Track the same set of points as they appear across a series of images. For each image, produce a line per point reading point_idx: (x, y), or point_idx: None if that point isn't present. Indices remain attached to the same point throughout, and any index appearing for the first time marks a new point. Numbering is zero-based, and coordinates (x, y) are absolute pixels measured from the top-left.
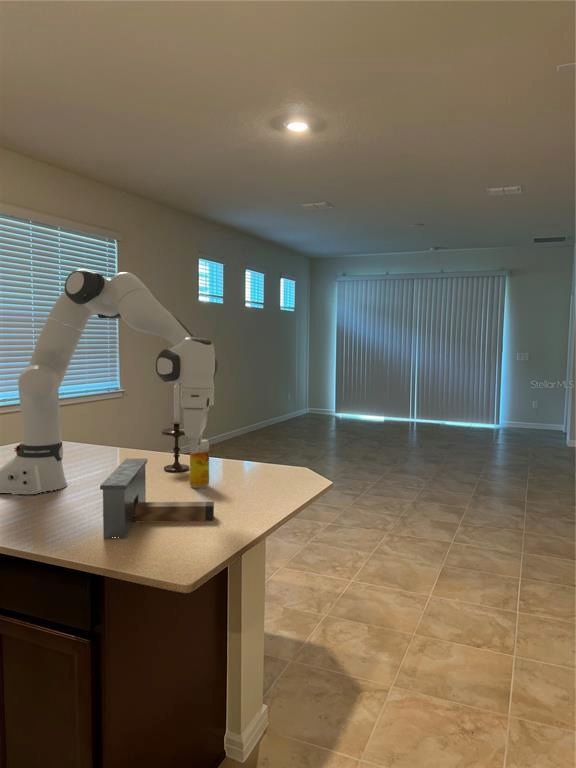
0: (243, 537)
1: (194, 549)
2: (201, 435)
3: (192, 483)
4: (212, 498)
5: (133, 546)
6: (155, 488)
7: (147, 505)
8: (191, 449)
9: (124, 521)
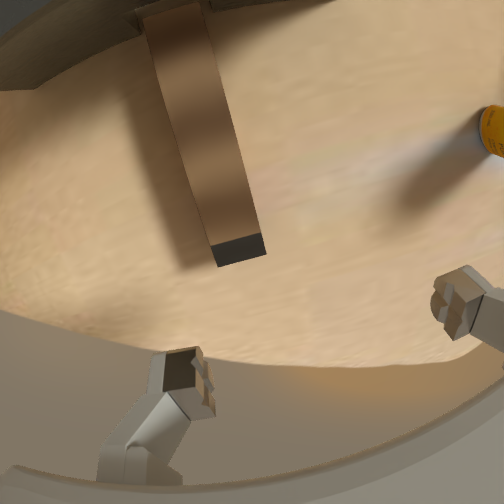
0: (135, 334)
1: (41, 268)
2: (496, 347)
3: (488, 113)
4: (412, 183)
5: (5, 140)
6: (462, 17)
7: (165, 48)
8: (152, 380)
9: (7, 90)
